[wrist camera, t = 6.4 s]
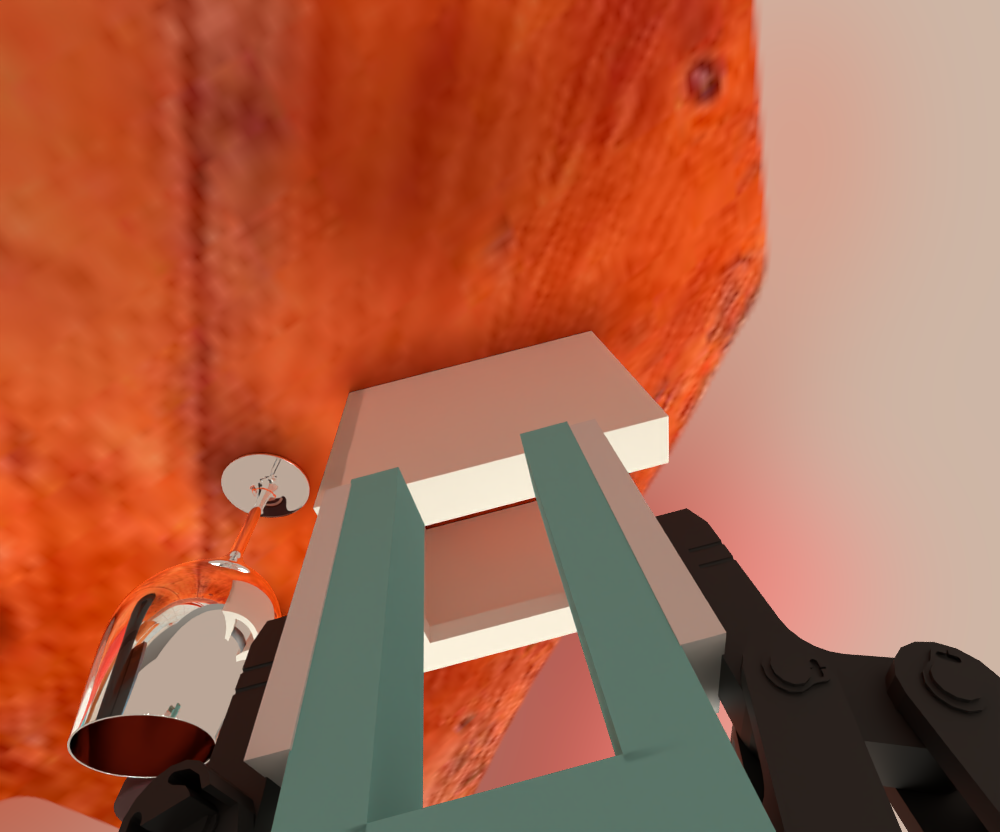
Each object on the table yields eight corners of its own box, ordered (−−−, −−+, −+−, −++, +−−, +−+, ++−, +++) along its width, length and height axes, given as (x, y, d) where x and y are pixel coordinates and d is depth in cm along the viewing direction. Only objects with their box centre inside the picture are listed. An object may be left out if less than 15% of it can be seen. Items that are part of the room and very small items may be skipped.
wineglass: (318, 444, 34) (229, 690, 18) (326, 523, 38) (258, 778, 22) (199, 441, 32) (-6, 707, 17) (220, 524, 36) (71, 799, 21)
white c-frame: (349, 392, 32) (313, 508, 22) (591, 330, 32) (668, 416, 22) (417, 541, 40) (414, 674, 30) (608, 492, 40) (669, 607, 30)
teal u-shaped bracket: (351, 479, 13) (226, 1024, 5) (566, 421, 13) (796, 870, 5) (381, 535, 14) (323, 1037, 6) (577, 482, 14) (771, 917, 6)
